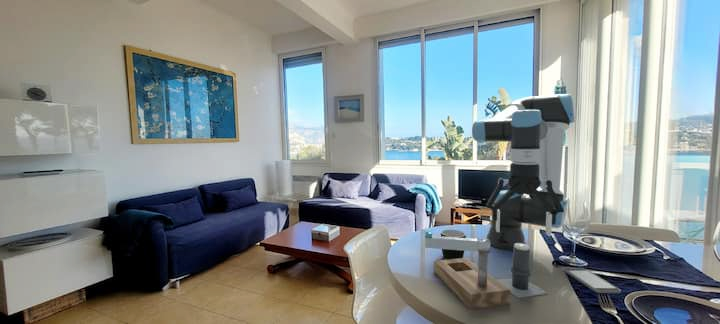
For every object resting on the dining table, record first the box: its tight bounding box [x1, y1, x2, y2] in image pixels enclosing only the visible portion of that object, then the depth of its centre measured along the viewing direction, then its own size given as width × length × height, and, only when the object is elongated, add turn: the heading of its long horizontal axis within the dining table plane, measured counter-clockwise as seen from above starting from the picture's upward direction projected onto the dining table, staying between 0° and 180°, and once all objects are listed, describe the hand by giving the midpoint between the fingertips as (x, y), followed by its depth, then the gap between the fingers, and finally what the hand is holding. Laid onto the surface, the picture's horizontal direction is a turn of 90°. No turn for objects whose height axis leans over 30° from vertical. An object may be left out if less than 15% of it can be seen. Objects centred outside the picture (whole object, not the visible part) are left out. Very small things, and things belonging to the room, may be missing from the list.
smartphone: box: [563, 267, 622, 294], centre depth 92 cm, size 7×1×15 cm
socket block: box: [433, 252, 512, 310], centre depth 89 cm, size 12×22×14 cm, turn 12°
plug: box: [510, 243, 532, 290], centre depth 88 cm, size 5×5×13 cm
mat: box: [497, 277, 548, 299], centre depth 88 cm, size 10×10×1 cm
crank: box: [424, 231, 491, 254], centre depth 83 cm, size 18×4×4 cm, turn 77°
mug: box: [440, 228, 467, 260], centre depth 111 cm, size 12×9×10 cm
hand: (522, 232), depth 87 cm, fingers open, 13 cm apart
